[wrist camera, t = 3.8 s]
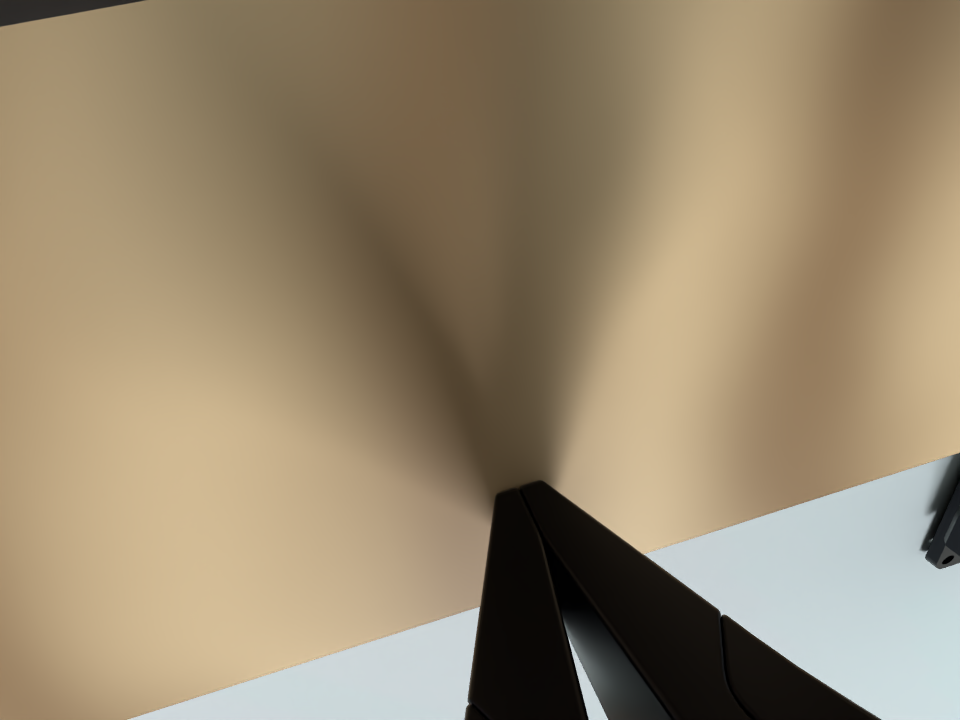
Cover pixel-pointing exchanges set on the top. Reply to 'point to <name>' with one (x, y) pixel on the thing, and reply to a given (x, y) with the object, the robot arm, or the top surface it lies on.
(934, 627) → the top surface
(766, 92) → the oak plank
